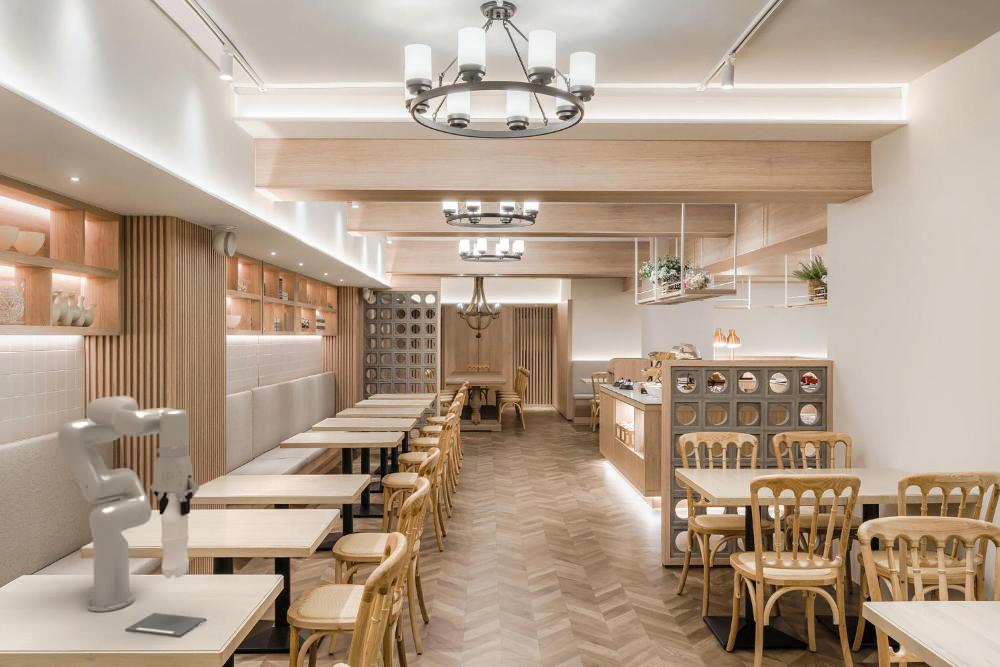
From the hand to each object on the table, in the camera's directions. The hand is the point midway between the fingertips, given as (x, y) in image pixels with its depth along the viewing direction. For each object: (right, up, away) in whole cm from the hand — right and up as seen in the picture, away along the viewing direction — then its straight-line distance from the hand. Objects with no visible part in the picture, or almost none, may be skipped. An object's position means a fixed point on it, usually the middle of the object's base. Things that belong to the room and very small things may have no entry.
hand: (174, 513), depth 192 cm
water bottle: (0, -18, 0) cm, 18 cm away
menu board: (-1, -32, -2) cm, 32 cm away
